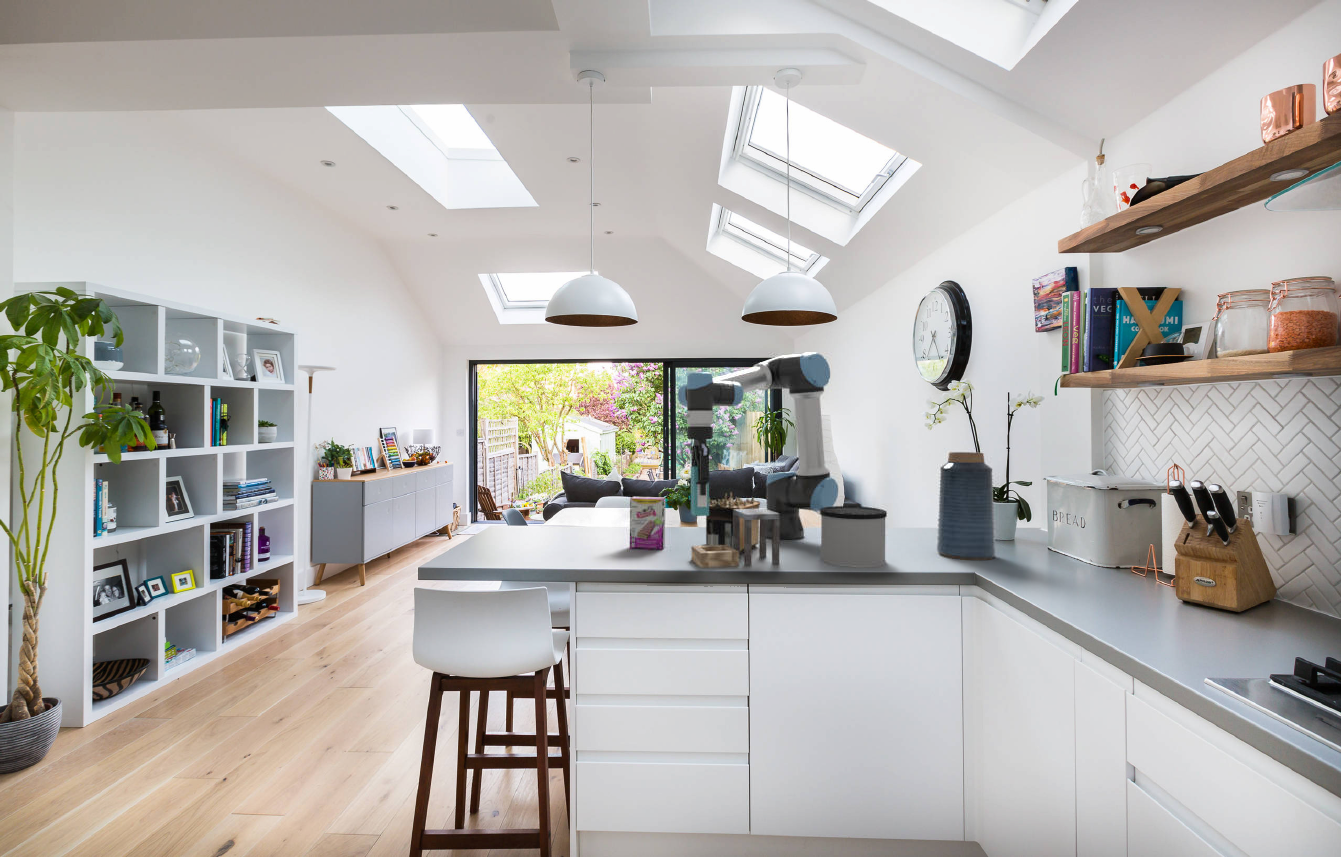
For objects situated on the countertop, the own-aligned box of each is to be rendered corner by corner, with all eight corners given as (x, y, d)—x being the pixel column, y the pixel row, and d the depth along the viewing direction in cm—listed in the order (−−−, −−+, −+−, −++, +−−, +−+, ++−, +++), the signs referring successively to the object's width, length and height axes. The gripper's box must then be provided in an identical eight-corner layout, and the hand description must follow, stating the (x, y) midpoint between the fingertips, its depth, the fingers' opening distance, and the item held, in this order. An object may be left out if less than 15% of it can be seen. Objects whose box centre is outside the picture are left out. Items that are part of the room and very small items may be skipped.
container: (815, 564, 183) (815, 512, 183) (824, 552, 201) (825, 504, 201) (884, 569, 176) (884, 515, 176) (888, 557, 194) (888, 507, 194)
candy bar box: (629, 549, 205) (629, 498, 205) (631, 546, 210) (631, 496, 210) (663, 549, 204) (663, 498, 204) (665, 547, 209) (665, 496, 209)
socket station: (764, 556, 194) (764, 508, 194) (779, 564, 182) (779, 513, 182) (691, 559, 189) (691, 510, 189) (701, 567, 177) (701, 515, 177)
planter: (781, 557, 193) (781, 495, 194) (699, 558, 191) (699, 495, 192) (763, 544, 218) (763, 489, 219) (690, 545, 216) (690, 489, 217)
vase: (994, 552, 200) (994, 452, 200) (996, 562, 186) (996, 454, 186) (938, 548, 207) (938, 451, 207) (935, 557, 193) (936, 453, 192)
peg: (705, 513, 189) (705, 466, 189) (709, 515, 184) (708, 467, 184) (690, 513, 188) (690, 466, 188) (694, 515, 184) (694, 467, 184)
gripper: (681, 425, 194) (681, 502, 194) (694, 425, 177) (694, 509, 177) (705, 425, 195) (705, 501, 196) (720, 425, 178) (720, 509, 178)
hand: (700, 505), depth 186 cm, fingers closed on peg, 4 cm apart
